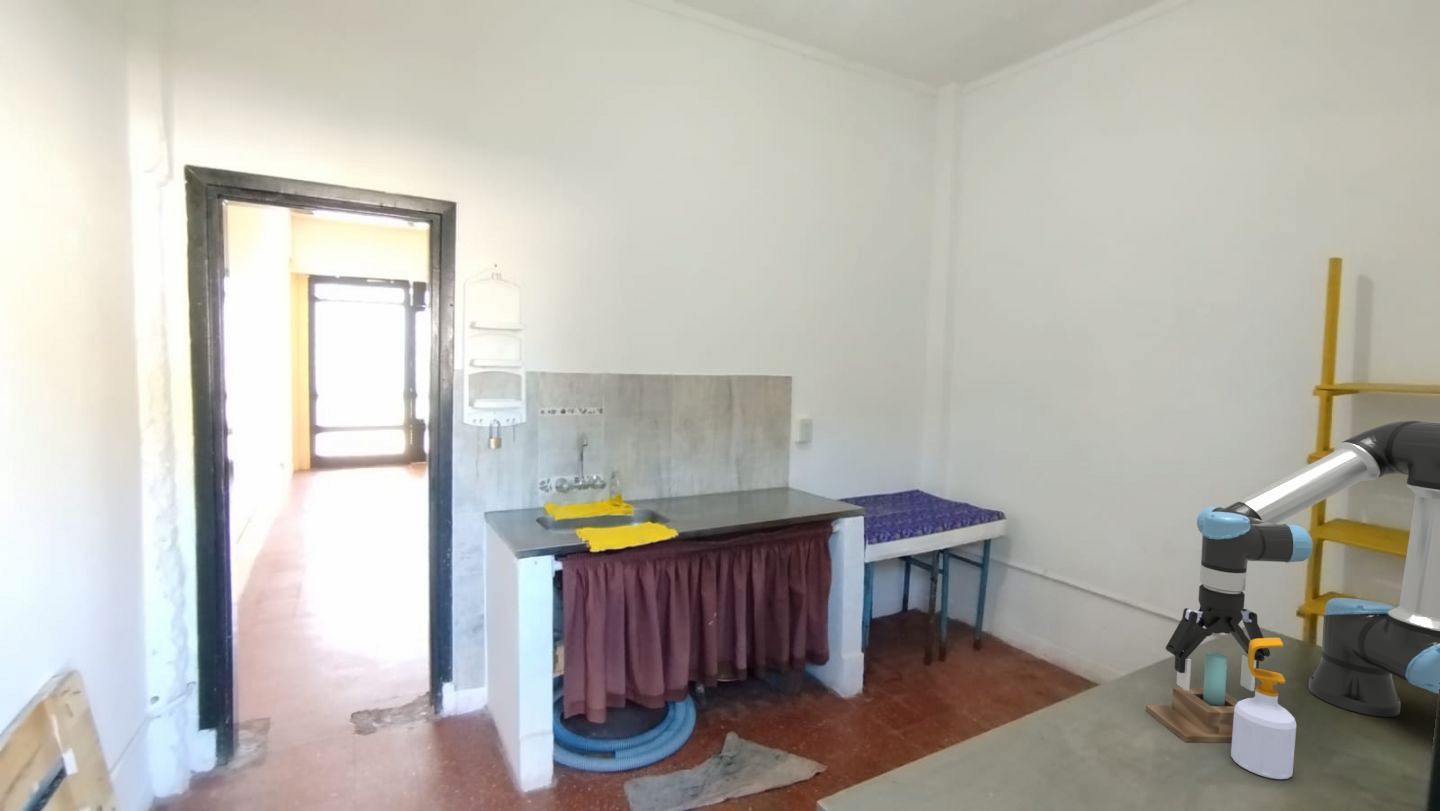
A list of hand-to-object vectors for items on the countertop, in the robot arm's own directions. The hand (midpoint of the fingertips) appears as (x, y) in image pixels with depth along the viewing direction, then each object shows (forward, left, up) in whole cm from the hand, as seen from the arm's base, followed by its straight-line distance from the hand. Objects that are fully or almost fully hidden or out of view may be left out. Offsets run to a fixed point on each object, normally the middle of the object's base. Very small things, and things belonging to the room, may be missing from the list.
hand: (1214, 687), depth 138 cm
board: (0, 0, -8) cm, 8 cm away
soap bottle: (+1, +13, -9) cm, 16 cm away
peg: (0, 0, -7) cm, 7 cm away
